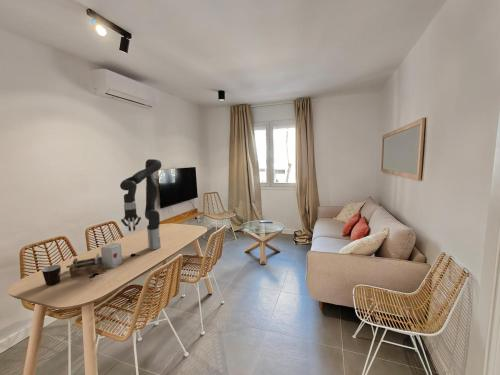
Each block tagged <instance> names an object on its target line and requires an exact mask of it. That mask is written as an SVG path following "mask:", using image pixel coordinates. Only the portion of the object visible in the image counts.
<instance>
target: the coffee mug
mask: <svg viewBox="0 0 500 375" xmlns="http://www.w3.org/2000/svg"><path fill="white" fill-rule="evenodd" d="M61 268H62V265H61V264H51V265H49V266H46V267H44V268H42V269H41V272H42V276H43V279H44V282H45V285H46V287H53V286H56V285H58V284H60V282H61V275H62V274H61V272H62V271H61Z"/></svg>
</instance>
